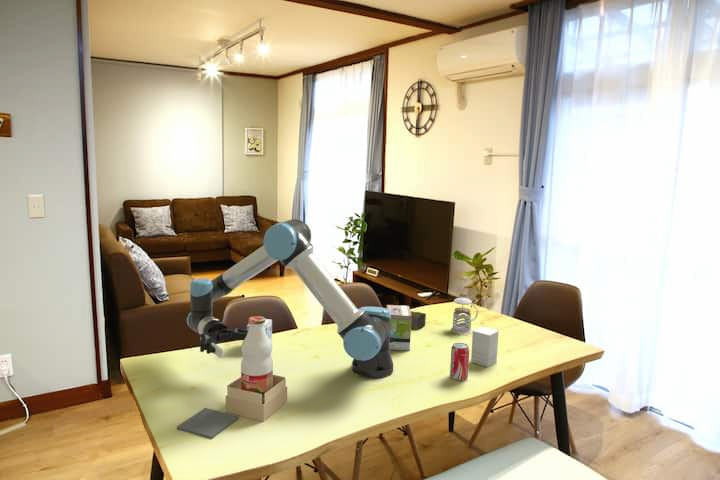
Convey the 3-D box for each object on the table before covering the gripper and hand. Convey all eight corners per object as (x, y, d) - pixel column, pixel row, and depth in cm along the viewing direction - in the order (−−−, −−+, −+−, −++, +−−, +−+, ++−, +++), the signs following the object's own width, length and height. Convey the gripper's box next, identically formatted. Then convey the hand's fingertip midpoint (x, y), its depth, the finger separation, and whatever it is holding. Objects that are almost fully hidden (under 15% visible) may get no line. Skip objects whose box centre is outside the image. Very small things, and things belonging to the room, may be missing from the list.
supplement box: (497, 362, 192) (499, 330, 190) (487, 367, 187) (489, 335, 185) (480, 356, 197) (482, 325, 195) (470, 362, 192) (472, 330, 190)
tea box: (410, 351, 201) (412, 315, 199) (385, 350, 202) (386, 314, 199) (407, 338, 216) (409, 304, 214) (384, 337, 217) (385, 304, 214)
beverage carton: (389, 318, 243) (389, 305, 242) (426, 326, 233) (426, 312, 232) (381, 323, 236) (382, 309, 235) (419, 330, 227) (420, 316, 226)
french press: (449, 326, 233) (452, 273, 229) (475, 328, 232) (478, 275, 228) (450, 333, 223) (453, 278, 220) (477, 335, 222) (480, 280, 218)
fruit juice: (279, 406, 154) (279, 318, 149) (255, 417, 146) (254, 325, 142) (259, 396, 159) (258, 311, 155) (234, 407, 152) (233, 318, 148)
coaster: (238, 418, 146) (238, 416, 146) (212, 438, 135) (212, 436, 135) (205, 409, 150) (205, 407, 150) (176, 428, 139) (176, 426, 139)
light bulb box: (262, 354, 194) (262, 327, 193) (246, 352, 196) (245, 325, 194) (272, 344, 205) (272, 318, 203) (257, 342, 206) (256, 317, 204)
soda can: (466, 382, 174) (468, 349, 172) (448, 379, 176) (450, 346, 174) (469, 375, 180) (471, 343, 178) (451, 372, 182) (453, 340, 180)
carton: (287, 401, 157) (287, 377, 155) (263, 421, 144) (263, 395, 143) (251, 393, 161) (251, 369, 160) (225, 411, 149) (225, 386, 148)
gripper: (246, 333, 182) (276, 351, 166) (177, 348, 167) (203, 369, 151) (245, 313, 181) (276, 329, 165) (176, 326, 165) (203, 345, 149)
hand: (241, 348), depth 158 cm, fingers open, 13 cm apart
